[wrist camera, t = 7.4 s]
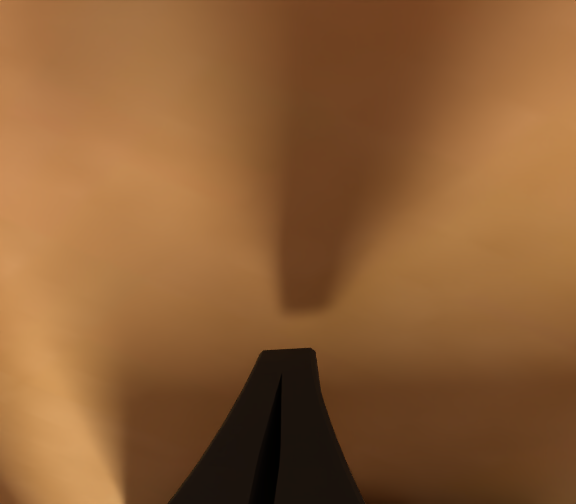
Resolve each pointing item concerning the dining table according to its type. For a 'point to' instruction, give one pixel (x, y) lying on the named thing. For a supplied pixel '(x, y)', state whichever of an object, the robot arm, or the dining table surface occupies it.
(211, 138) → the dining table surface
